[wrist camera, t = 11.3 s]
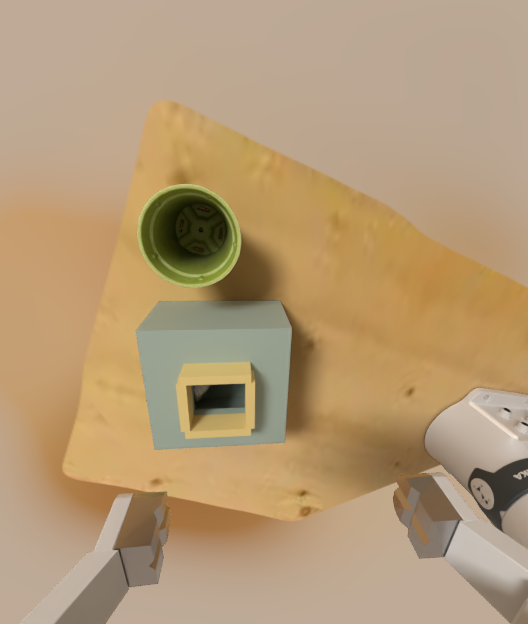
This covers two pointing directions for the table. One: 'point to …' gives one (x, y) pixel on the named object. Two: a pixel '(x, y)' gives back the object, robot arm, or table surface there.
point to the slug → (201, 391)
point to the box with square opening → (216, 372)
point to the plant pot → (189, 236)
